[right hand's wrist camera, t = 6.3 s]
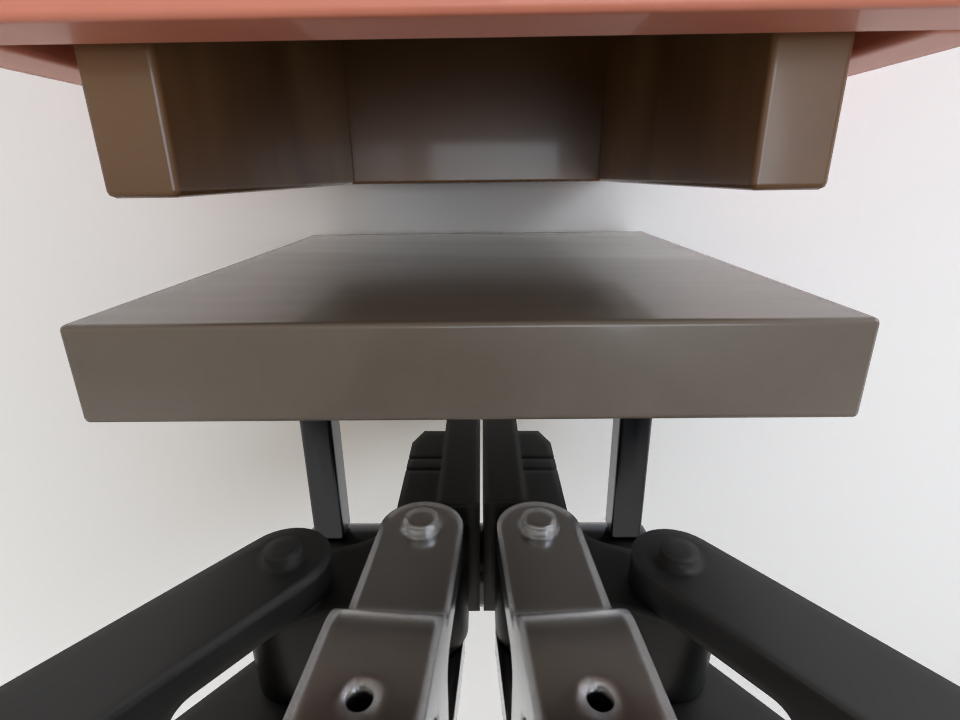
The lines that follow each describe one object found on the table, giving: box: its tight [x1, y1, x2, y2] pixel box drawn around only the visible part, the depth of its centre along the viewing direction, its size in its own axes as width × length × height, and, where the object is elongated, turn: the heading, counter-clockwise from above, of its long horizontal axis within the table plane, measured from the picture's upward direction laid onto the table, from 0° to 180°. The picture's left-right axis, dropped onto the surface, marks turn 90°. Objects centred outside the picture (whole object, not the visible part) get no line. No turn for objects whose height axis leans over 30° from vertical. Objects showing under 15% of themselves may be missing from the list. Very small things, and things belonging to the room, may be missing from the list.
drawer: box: [60, 31, 879, 607], centre depth 9 cm, size 23×9×9 cm, turn 1°
